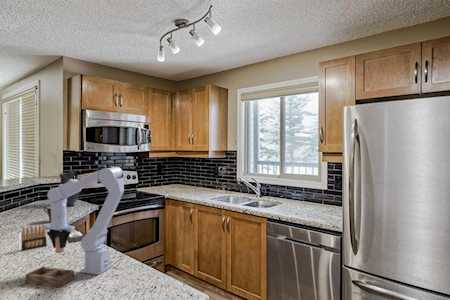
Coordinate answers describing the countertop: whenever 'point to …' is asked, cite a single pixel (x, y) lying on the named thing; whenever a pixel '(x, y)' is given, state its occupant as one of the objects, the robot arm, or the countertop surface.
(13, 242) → the countertop surface
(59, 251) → the clay rod
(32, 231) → the ammunition clip
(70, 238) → the chocolate bar
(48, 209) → the ceramic cup
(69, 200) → the pitcher
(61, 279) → the rack
